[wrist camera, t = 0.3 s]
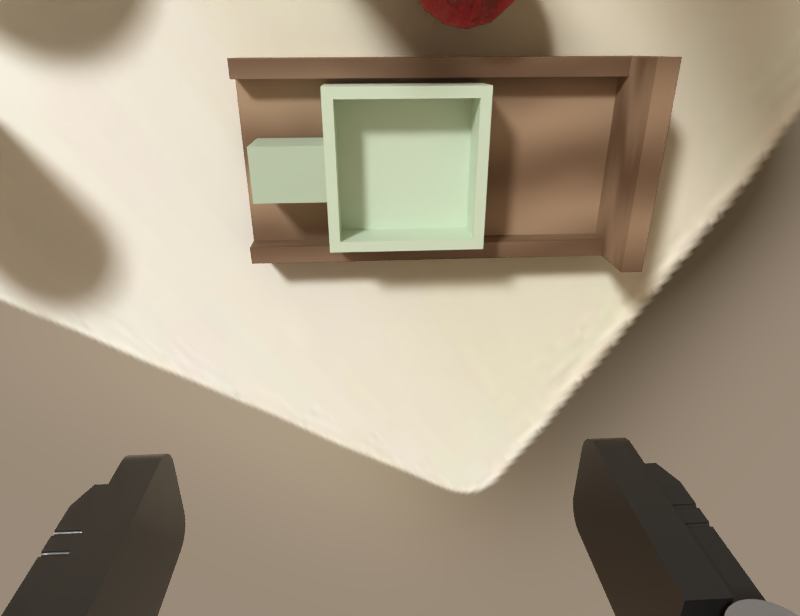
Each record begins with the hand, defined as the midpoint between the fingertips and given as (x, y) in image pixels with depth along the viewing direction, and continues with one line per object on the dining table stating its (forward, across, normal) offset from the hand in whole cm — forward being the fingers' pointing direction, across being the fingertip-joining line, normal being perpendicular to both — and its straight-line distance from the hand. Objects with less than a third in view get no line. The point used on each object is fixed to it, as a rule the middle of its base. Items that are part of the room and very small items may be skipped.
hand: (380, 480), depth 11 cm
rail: (+27, -4, -1) cm, 27 cm away
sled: (+25, 0, -1) cm, 25 cm away
